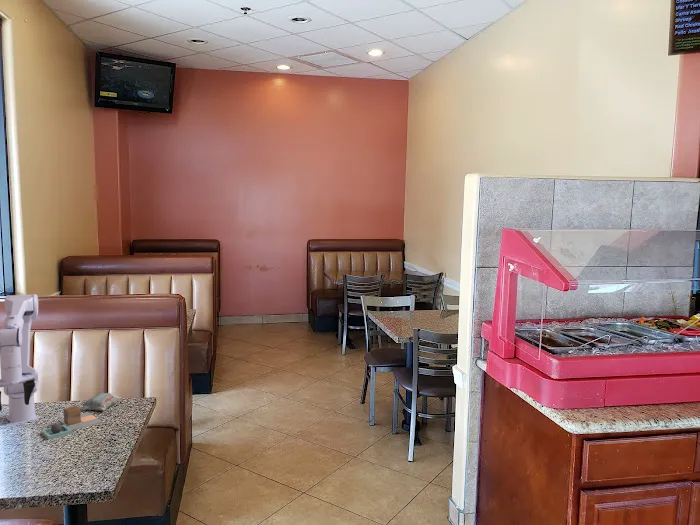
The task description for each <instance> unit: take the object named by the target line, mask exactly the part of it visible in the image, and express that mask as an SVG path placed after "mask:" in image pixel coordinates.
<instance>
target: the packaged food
mask: <svg viewBox="0 0 700 525" xmlns="http://www.w3.org/2000/svg"><path fill="white" fill-rule="evenodd" d="M121 399H122V395H115V394H112V393H110V392H106V393H105V392H103V393H102V392H101V393H98V394H96V395H95V396H93V397H91V398H89V399H88V400H86V401H85V402H84V403H83V405H82V411H86V410H88V411H100V412H101V411H106V409H108V408H110V407H112V406H113V405H114V404H116V403H117V402H118V401H120V400H121Z"/></svg>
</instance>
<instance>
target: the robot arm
mask: <svg viewBox="0 0 700 525" xmlns="http://www.w3.org/2000/svg"><path fill="white" fill-rule="evenodd" d="M4 309H5V312H6V317H5V318H4V320H3V323H2V326H1V329H0V388H3V393H4V394H5V396H8V397H7V398H8V412H9V415H6V419H7V420H8V421H9V422H10V423H11V424H12V425H17V424H20V423H24V422H29V421H33V420H34V421H35V420H37V419H39V418H40V417H39V416H38V415H37V414H36V406H35V393H37V391H39V372H38V371H37V369H36V368H35V367H32V366H30V357H31V356H30V355H31V354H30V353H31V352H30V351H31V328H32V323H33V321H35V320H36V319H38V315H39V296H38V295H37V293H33V294H14V295H13V294H12V295H11V294H7V295H6V296H5V297H4ZM2 410H3V406H2V391H1V390H0V412H1V411H2Z"/></svg>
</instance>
